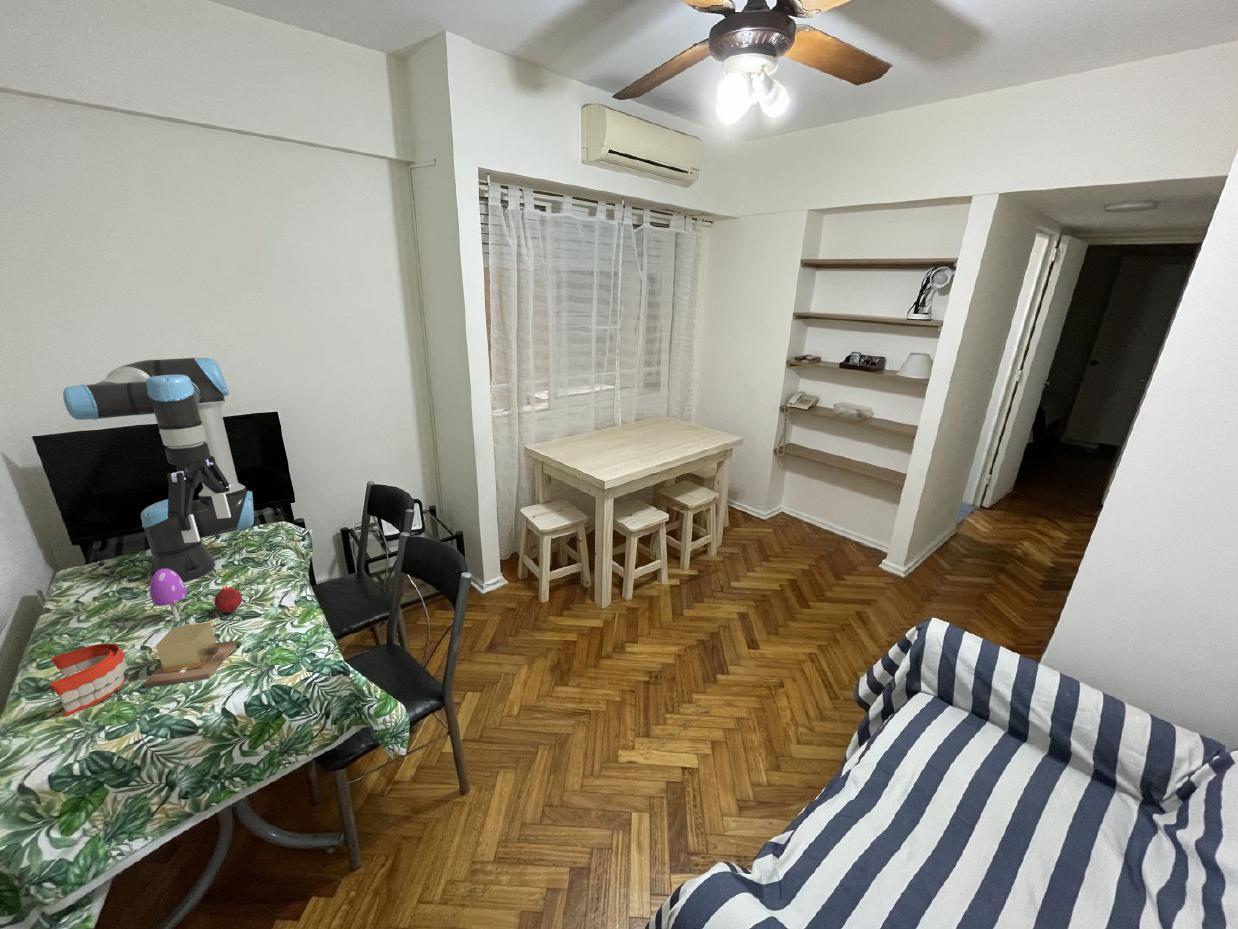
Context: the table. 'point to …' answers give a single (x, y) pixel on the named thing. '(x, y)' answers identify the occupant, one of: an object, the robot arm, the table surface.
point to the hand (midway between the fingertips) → (209, 529)
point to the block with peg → (187, 647)
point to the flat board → (192, 674)
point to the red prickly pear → (228, 599)
